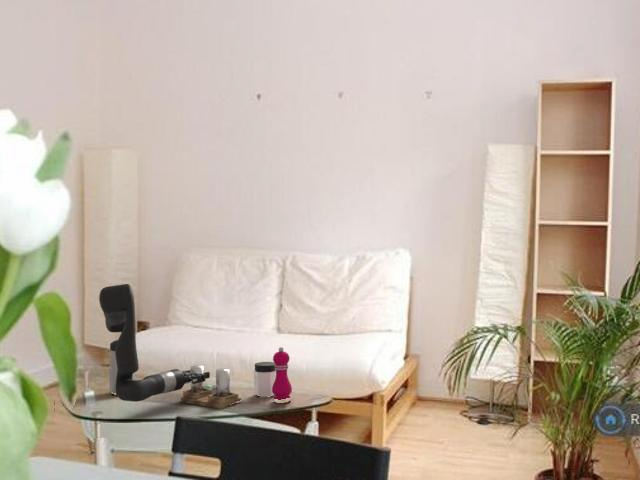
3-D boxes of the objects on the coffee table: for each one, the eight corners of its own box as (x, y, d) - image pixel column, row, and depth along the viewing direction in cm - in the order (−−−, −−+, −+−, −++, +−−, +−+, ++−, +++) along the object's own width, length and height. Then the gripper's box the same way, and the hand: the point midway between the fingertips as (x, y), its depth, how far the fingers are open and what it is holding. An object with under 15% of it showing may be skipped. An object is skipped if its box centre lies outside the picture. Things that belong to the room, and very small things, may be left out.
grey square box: (197, 394, 275) (197, 387, 275) (208, 391, 280) (208, 384, 280) (208, 396, 271) (208, 389, 271) (219, 393, 276) (219, 386, 276)
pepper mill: (289, 404, 257) (288, 349, 257) (270, 403, 258) (268, 348, 258) (294, 399, 264) (293, 345, 264) (275, 399, 265) (274, 345, 265)
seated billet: (213, 400, 259) (212, 370, 258) (223, 397, 263) (222, 367, 263) (223, 402, 256) (223, 371, 256) (233, 399, 260) (232, 369, 260)
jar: (280, 396, 270) (279, 364, 270) (260, 398, 266) (259, 366, 266) (271, 391, 278) (270, 360, 278) (251, 393, 275) (251, 362, 274)
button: (203, 393, 275) (202, 386, 275) (208, 392, 278) (208, 384, 278) (208, 394, 273) (208, 387, 273) (214, 393, 276) (213, 385, 276)
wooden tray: (179, 401, 265) (179, 392, 265) (201, 395, 274) (201, 386, 274) (220, 408, 253) (220, 399, 252) (241, 402, 261) (241, 392, 261)
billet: (188, 396, 266) (187, 366, 266) (197, 393, 270) (197, 364, 270) (197, 397, 263) (197, 368, 263) (207, 395, 267) (206, 365, 267)
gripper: (181, 373, 251) (214, 365, 264) (154, 369, 259) (187, 361, 272) (182, 394, 251) (214, 385, 264) (155, 389, 259) (187, 381, 272)
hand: (200, 373), depth 268 cm, fingers open, 8 cm apart
